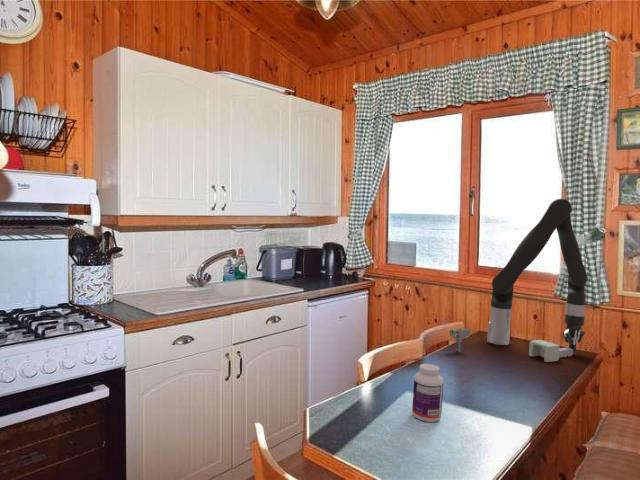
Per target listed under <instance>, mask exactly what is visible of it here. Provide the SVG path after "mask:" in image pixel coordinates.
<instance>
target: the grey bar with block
mask: <svg viewBox="0 0 640 480" xmlns="http://www.w3.org/2000/svg"><path fill="white" fill-rule="evenodd" d="M572 355H574V353H573V349H571V348H569V347H560V348H559V359H560V358H567V356H568V357H573V356H572ZM544 356H545V348H544V347H542V351H541V356H540V357H541V358H544Z"/></svg>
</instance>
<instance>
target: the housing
mask: <svg viewBox="0 0 640 480" xmlns="http://www.w3.org/2000/svg"><path fill="white" fill-rule="evenodd" d="M528 347H529V348H528V350H529V351H528V356H529V357H539V356H540V357H541V351H542V347H544V348H545V356H544V357H543V361H544V362H545V363H549V362H550V363H551V362H558V361H559V360H560V358H559V348H561V347H560V345H559V344H556V343H553V342H550V341H546V340H544V339H543V340H542V339H536V340H535V339H534V340H529V346H528Z"/></svg>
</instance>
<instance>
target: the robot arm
mask: <svg viewBox="0 0 640 480" xmlns="http://www.w3.org/2000/svg"><path fill="white" fill-rule="evenodd" d="M572 210H573V206H572V204H571V202H570V201H569V200H568V199H566V198H556V199H554V200H552V201H551V202H550V204H548V207H547V209H546V210H545V212H544V214H543V216H542V217H541V219H540V220H539V221H538V223H537V224H536V225H534V227H533V228H532V229H531V230H530V231H529V232H528V233H527V234H526V235H525V236H524V238H523V239H522V240H521V242H520V243H519V244H518V245H517V247H516V249H515V250H514V252H513V254H512V255H511V257H510V259H509V260H508V261H507V263H506V265H505V266H504V267H503V268H502V269H501V270H500V272H498V273H497V274H496V275H495V276H494V278H492V280H491V286H492V295H491V300H490V310H489V311H490V312H489V313H490V314H489V322H488V325H487V337H486V339H487V340H486V342H487V343H490V344H492V345H496V346H509V344H510V337H511V336H510V333H511V323H512V322H511V321H512V320H511V319H512V308H513V307H512V306H513V298H514V286H515V283H516V281H517V280H518V278H519V277H520V276H521V274H522V273H523V272H524V271H525V270H526V269H527V268H528V267H529V266H530V265H531V264H532V263H533V262H534V261H535V260H536V258H537V257H538V256H539V255H540V253H541V252H542V251H543V250H544V248H545V247H546V245H547V244H548V241H550V238H551V237H552V235H553V233H554V232H555V230H556V231H557V234H558V240H559V245H560V250H561V254H562V259H563V261H564V263H565V266H566V270H567V273H568V276H567V296H566V306H565V311H564V312H565V314H564V323H565V324H566V328H565V331H562V333H561V334H562V336H563V338H564V339H563V340H565V342H566V343H567V344H569V345H568V348H571V349H573V354H574V353H577V345H578V343H581V341H582V339H583V337H584V335H585V334H586V331H584V330H582V329H583V328H582V327H583V326H585V316H586V293H585V291H586V290H585V288H586V283H587V282H588V275H587V270H586V268H585V265H584V263H583V258H582V254H581V250H580V246H579V243H578V240H577V238H576V234H575V232H574V229H573V225H572V218H571V213H572Z"/></svg>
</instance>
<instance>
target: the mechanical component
mask: <svg viewBox="0 0 640 480" xmlns="http://www.w3.org/2000/svg"><path fill="white" fill-rule="evenodd" d="M470 333H471V329H469V328H466V327H460V328H459V327H458V328H456V330H455V329H451V330H449V337H450V338H452V339H454V340H455V342H456V343H457V344H456V352H458V353H461V349H462V343H463V339H468V338H469V337H470Z"/></svg>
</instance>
